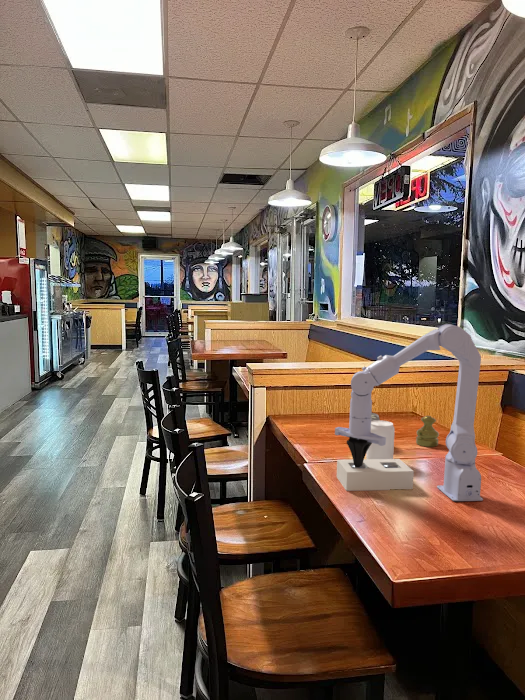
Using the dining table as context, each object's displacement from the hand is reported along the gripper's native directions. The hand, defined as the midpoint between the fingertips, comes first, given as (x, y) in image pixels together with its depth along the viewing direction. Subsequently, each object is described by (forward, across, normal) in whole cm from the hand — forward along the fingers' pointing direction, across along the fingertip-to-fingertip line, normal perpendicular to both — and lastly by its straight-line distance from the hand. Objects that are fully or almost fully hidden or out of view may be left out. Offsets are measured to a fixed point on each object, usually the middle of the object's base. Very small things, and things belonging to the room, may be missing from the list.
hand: (358, 465), depth 135 cm
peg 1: (+4, 0, 0) cm, 4 cm away
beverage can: (+5, +5, -21) cm, 22 cm away
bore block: (+5, -3, -3) cm, 7 cm away
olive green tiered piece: (+5, +2, -50) cm, 50 cm away
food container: (+5, +18, -37) cm, 41 cm away
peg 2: (+4, -6, -7) cm, 10 cm away
